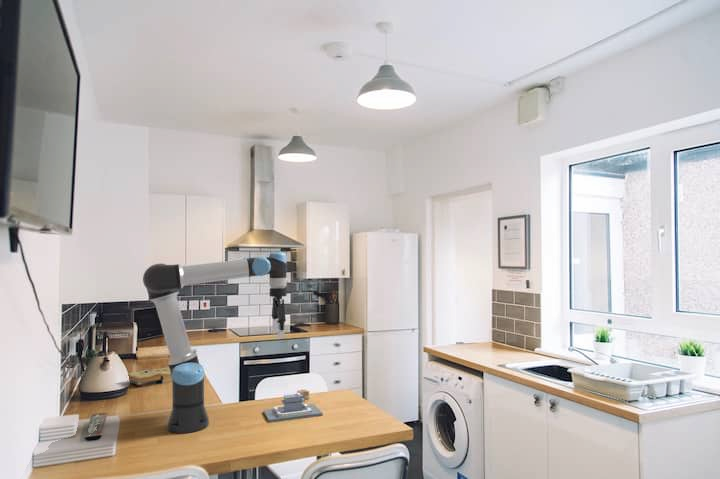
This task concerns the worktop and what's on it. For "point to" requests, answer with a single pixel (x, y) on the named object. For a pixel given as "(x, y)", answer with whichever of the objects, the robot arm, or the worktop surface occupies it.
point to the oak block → (304, 394)
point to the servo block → (293, 402)
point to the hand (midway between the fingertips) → (278, 335)
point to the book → (151, 377)
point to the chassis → (291, 413)
